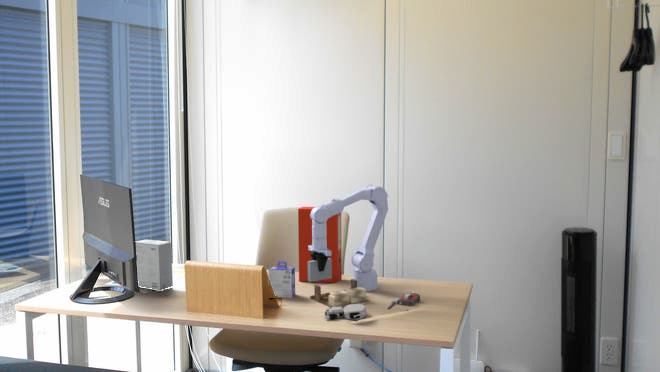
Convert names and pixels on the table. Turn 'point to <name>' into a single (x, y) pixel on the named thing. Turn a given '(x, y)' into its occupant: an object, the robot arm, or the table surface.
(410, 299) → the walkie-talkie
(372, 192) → the robot arm
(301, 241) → the file binder
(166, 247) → the hard drive box
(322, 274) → the grey rectangular slab
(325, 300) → the walnut rack
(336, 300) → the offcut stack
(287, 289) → the ink cartridge box
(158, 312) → the table surface
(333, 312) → the robot toy
